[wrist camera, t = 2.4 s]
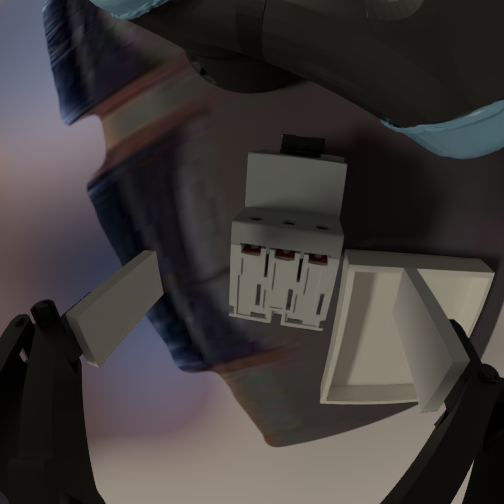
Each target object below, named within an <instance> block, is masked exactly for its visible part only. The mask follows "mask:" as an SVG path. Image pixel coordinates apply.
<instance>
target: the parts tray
mask: <svg viewBox="0 0 504 504" xmlns="http://www.w3.org/2000/svg"><path fill="white" fill-rule="evenodd" d="M403 268H416V269H417V270H418V272H419V273H420V274H421V276H422V277H423V279H424V280H425V282H426V284H427V285H428V287H429V288H430V290H431V291H432V293H433V294H434V296H435V298H436V299H437V301H438V303H439V304H440V306H441V308H442V309H443V311H444V313H445V314H446V316H447V318H448V319H454V320H456V321H457V322H458V323H459V324H460V325H461V326H462V328H463V329H464V331H465V333H466V336H468V338H469V337H470V335H471V333H472V331H473V329H474V326H475V324H476V322H477V320H478V317H479V315H480V312H481V310H482V308H483V305H484V302H485V300H486V297H487V294H488V292H489V289H490V286H491V283H492V280H493V277H494V274H495V273H494V272H493V271H492V270H491V269H490V268H489V267H488V266H487V265H486V264H485V263H484V262H483V261H482V260H481V259H476V258H464V257H451V256H438V255H425V254H411V253H397V252H383V251H368V250H354V249H345V254H344V262H343V270H342V277H341V284H340V291H339V297H338V304H337V309H336V315H335V321H334V326H333V332H332V337H331V342H330V347H329V351H328V356H327V361H326V365H325V370H324V374H323V378H322V382H321V397H320V403H325V404H387V403H403V402H415V401H418V399H417V395H416V391H415V387H414V383H413V380H412V376H411V372H410V369H409V365H408V362H407V358H406V355H405V352H404V349H403V345H402V342H401V339H400V336H399V333H398V330H397V327H396V324H395V321H394V318H393V315H392V311H393V307H394V304H395V300H396V296H397V292H398V288H399V284H400V280H401V276H402V272H403Z"/></svg>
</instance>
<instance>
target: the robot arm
mask: <svg viewBox="0 0 504 504" xmlns="http://www.w3.org/2000/svg"><path fill="white" fill-rule="evenodd" d="M90 1H91V2H92V3H93V4H95V5H96V6H98V7H100V8H102V9H105V10H107V11H109V12H110V14H111V15H112V17H114V18H117V19H119V20H128V21H130V22H132V23H134V24H137V25H139V26H141V27H143V28H145V29H147V30H149V31H151V32H153V33H155V34H157V35H159V36H161V37H163V38H165V39H167V40H169V41H171V42H172V43H174V44H176V45H178V46H180V47H181V48H183V49H184V50H185V53H186V55H187V58H188V60H189V62H190V64H191V65H192V67H193V68H194V69H195V71H196V72H197V73H198V74H199V75H200V76H202V77H203V78H204V79H206V80H207V81H209V82H210V83H212V84H214V85H216V86H218V87H220V88H223V89H226V90H229V91H233V92H238V93H259V92H265V91H269V90H273V89H276V88H278V87H281V86H283V85H285V84H287V83H288V82H290V81H292V80H293V79H295V78H296V77H297V76H298V75H299V76H301V77H303V78H305V79H307V80H310V81H312V82H314V83H316V84H318V85H320V86H322V87H324V88H326V89H328V90H330V91H332V92H334V93H336V94H338V95H340V96H341V97H343V98H345V99H347V100H349V101H351V102H352V103H354V104H356V105H358V106H359V107H361V108H363V109H364V110H366V111H368V112H369V113H371V114H373V115H374V116H376V117H377V118H379V119H380V121H381V123H382V124H384V125H385V126H387V127H388V128H390V129H392V130H394V131H398V132H402V133H404V134H405V135H407V136H408V137H410V138H411V139H413V140H414V141H416V142H417V143H419V144H420V145H422V146H423V147H425V148H426V149H427V150H429V151H431V152H432V153H435V154H437V155H439V156H443V157H452V158H457V159H470V158H476V157H481V156H484V155H487V154H490V153H493V152H495V151H497V150H499V149H501V148H503V147H504V0H90ZM162 295H163V289H162V284H161V279H160V274H159V268H158V262H157V257H156V251H143V252H142V253H141V254H139V255H138V256H137V257H135V258H134V259H133V260H131V261H130V262H129V263H127V264H126V265H125V266H123V267H122V268H121V269H120V270H118V271H117V272H116V273H115V274H113V275H112V276H111V277H109V278H108V279H107V280H106V281H104V282H103V283H102V284H101V285H99V286H98V287H97V288H96V289H94V290H93V291H91V292H89V293H88V294H87V295H86V296H84V297H83V299H81V300H80V301H79V302H78V303H76V304H75V305H74V306H72V307H71V308H70V309H69V310H68V311H67V312H65V313H64V314H63V315H62V316H61V317H60V316H59V313H58V311H57V308H56V306H55V303H54V301H53V300H49V299H47V300H42V301H39V302H38V303H36V304H35V305H34V306H32V308H31V309H30V311H31V313H32V316H33V318H34V320H35V322H36V324H33V323H32V321H31V319H30V317H29V316H28V315H27V314H22V315H21V314H20V315H18V316H16V317H15V318H14V319H13V320H12V321H11V322H10V323H9V325H8V326H7V328H6V329H5V331H4V333H3V334H2V336H1V337H0V504H106V503H105V502H104V500H103V498H102V497H101V496H100V494H99V493H98V491H97V489H96V485H95V481H94V476H93V472H92V467H91V462H90V457H89V450H88V444H87V437H86V429H85V420H84V410H83V397H82V396H83V395H82V369H81V368H82V366H81V365H82V364H81V361H80V359H79V357H80V356H81V355H82V354H83V355H84V357H85V359H86V361H87V362H88V363H89V364H91V365H93V366H96V367H98V368H100V366H101V365H102V364H103V363H104V362H105V360H106V359H107V358H108V357H109V356H110V354H111V353H112V352H113V351H114V350H115V348H116V347H117V346H118V345H119V344H120V343H121V341H122V340H123V339H124V338H125V337H126V336H127V334H128V333H129V332H130V331H131V330H132V329H133V328H134V326H135V325H136V324H137V323H138V322H139V321H140V319H141V318H142V317H143V316H144V315H145V314H146V313H147V312H148V310H149V309H150V308H151V307H152V306H153V305H154V304H155V303H156V301H157V300H158V299H159V298H160V297H161V296H162ZM392 315H393V318H394V321H395V324H396V327H397V330H398V333H399V336H400V339H401V342H402V345H403V349H404V352H405V355H406V358H407V362H408V365H409V369H410V372H411V376H412V380H413V383H414V387H415V391H416V395H417V399H418V404H419V408H420V413H428V412H435V411H437V410H438V409H439V408H440V406H441V405H442V404H443V402H444V403H445V406H446V410H445V412H444V413H443V414H442V416H441V417H440V418H439V419H438V421H437V422H436V423H435V424H434V425H435V426H436V427H435V429H434V430H433V432H432V434H431V435H430V437H429V439H428V440H427V442H426V444H425V445H424V447H423V448H422V450H421V452H420V453H419V454H418V456H417V457H416V459H415V460H414V462H413V463H412V464H411V466H410V467H409V469H408V470H407V471H406V473H405V474H404V475H403V477H402V478H401V480H399V482H398V483H397V484H396V486H395V487H394V488H393V489H392V490H391V492H390V493H389V494H388V495H387V496H386V497H385V499H384V500H383V501H382V502H381V503H380V504H451V502H452V500H453V499H454V497H455V495H456V494H457V492H458V490H459V488H460V487H461V485H462V483H463V481H464V479H465V477H466V475H467V473H468V471H469V469H470V467H471V465H472V463H473V460H474V463H473V467H472V472H471V475H470V480H469V483H468V486H467V490H466V493H465V496H464V499H463V502H462V504H504V378H501V377H500V376H499V374H498V372H497V371H496V370H495V368H493V367H492V366H490V365H488V364H482V362H481V360H480V358H479V357H478V355H477V353H476V351H475V349H474V347H473V345H472V343H471V342H470V340H469V338H468V336H466V333H465V331H464V329H463V328H462V326H461V325H460V324H459V323H458V322H457V321H456V320H454V319H448V318H447V316H446V314H445V313H444V311H443V309H442V308H441V306H440V304H439V303H438V301H437V299H436V298H435V296H434V294H433V293H432V291H431V290H430V288H429V287H428V285H427V284H426V282H425V280H424V279H423V277H422V276H421V274H420V273H419V272H418V270H417V269H416V268H403V272H402V276H401V280H400V284H399V288H398V292H397V296H396V300H395V304H394V307H393V311H392ZM21 350H22V352H23V354H24V356H25V357H26V361H25V362H23V360H22V359H21V357H20V355H19V354H20V352H21Z"/></svg>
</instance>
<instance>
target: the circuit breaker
mask: <svg viewBox="0 0 504 504" xmlns="http://www.w3.org/2000/svg"><path fill="white" fill-rule="evenodd" d="M324 144H325V139H322V138H310V137H299V136H296V135H288V134H283V135H282V145H281V149H280V151H278V150H267V149H263V150H258V151H253V152H249V153H248V166H247V182H246V199H245V208H244V209H243V210H242V211H241V212H240V213H239V214H238V215H237V216H236V217H235V218H234V219H233V221H232V235H231V264H230V301H229V305H232V306H234V311H230V313H229V316H233V317H239V318H244V319H249V320H255V321H261V322H266V323H270V322H271V318H272V315H273V313H279V314H282V319H281V325H285V326H291V327H298V328H305V329H312V330H319V331H322V330H323V326H321V325H319V323H320V321H322V320H325V319H326V315H327V311H328V307H329V303H330V299H331V295H332V291H333V287H334V283H335V278H336V274H337V270H338V265H339V260H340V256H341V251H342V246H343V241H344V234H343V230H342V227H341V224H340V221H339V219H340V212H341V206H342V199H343V193H344V185H345V178H346V170H347V164H346V163H345V162H344V158H343V157H337V156H331V155H325V154H324ZM254 312H257V313H263V314H265V316H260V315H254ZM289 318H294V319H300V320H301V322H298V321H291V320H288V319H289Z"/></svg>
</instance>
